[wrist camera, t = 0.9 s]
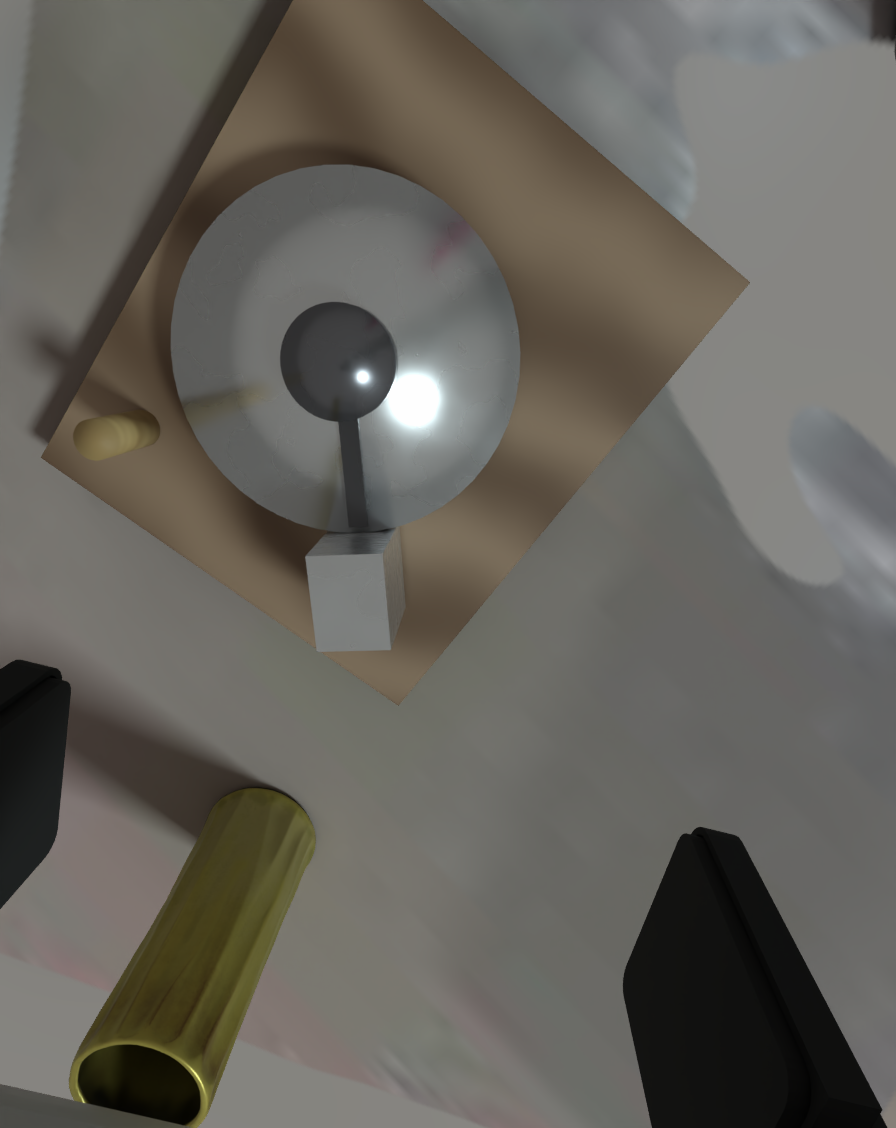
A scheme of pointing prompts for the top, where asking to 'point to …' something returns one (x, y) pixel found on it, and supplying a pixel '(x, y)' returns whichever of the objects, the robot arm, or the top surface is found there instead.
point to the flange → (346, 371)
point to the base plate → (523, 255)
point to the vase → (197, 965)
